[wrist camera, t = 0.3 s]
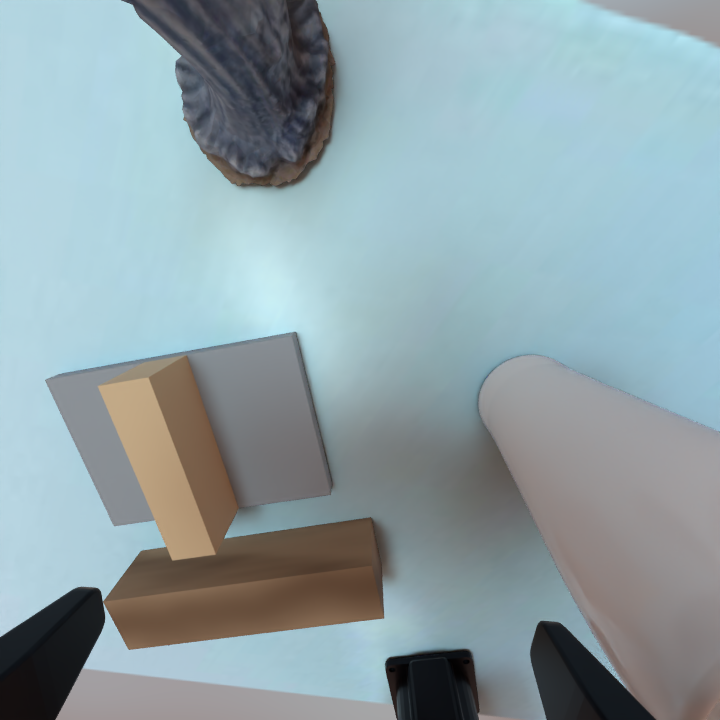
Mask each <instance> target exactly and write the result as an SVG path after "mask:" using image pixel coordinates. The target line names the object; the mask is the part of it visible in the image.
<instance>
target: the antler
mask: <svg viewBox="0 0 720 720" xmlns="http://www.w3.org/2000/svg"><path fill="white" fill-rule="evenodd" d="M122 1H124V2H127V3H130V4H132V5H133V6H134V8H135V11H136V13H137V14H138V16H139V17H140V18H141V19H142V20H143V21H144V22H145V23H147V24H148V25H149V26H150V27H151V28H152V29H154V30H155V31H156V32H157V33H158V34H159V35H160V36H161V37H163V38H164V39H165V40H166V41H167V42H168V43H169V44H170V45H171V46H172V47H173V48H174V49H175V50H176V51H177V52H178V53H179V54H180V55H182V56H181V57H180V58H179V59H178V60H177V61H176V68H175V72H176V77H177V82H178V84H179V86H180V87H181V89H182V91H183V92H182V96H181V97H182V100H183V109H182V110H183V113H184V119H183V120H184V121H187V123H188V125H189V128H190V132H191V135H192V137H193V139H194V140H195V141H196V142H197V144H198V145H199V146H200V149H201V150H202V152H203V154H206V156H207V159H208V160H209V161H211V162H212V163H213V164H214V165H215V167H216V168H218V169H219V170H220V171H221V172H222V174H223V175H224V176H225V177H226V178H227V179H228V180H229V181H230V182H231V183H232V184H234V183H236V184H237V186H240V185H241V184H242V183H245V184H248V185H249V184H251V183H256V184H260V185H266V184H268V183H271V184H272V185H273V186H278V185H279V184H281V183H283V182H285V181H287V182H290V181H291V180H292V179H297V177H298V176H299V174H300V173H301V172H302V171H303V170H304V169H305V167H306V165H307V163H308V162H310V161H313V160H317V155H318V153H319V152H320V151H321V149H322V148H323V141H324V140H325V139H327V138H329V130H330V129H331V126H330V120H331V114H332V108H333V100H334V97H333V93H332V90H331V89H332V88H333V87H334V86H333V80H332V77H333V72H332V69H331V66H332V65H335V61H334V58H333V55H332V53H331V50H330V47H329V44H328V42H329V35H328V31H327V27H326V25H325V24H324V22H323V21H322V16H321V13H320V12H319V9H318V3H317V1H316V0H122Z"/></svg>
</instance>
